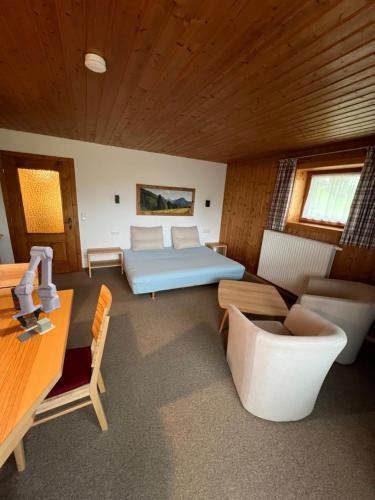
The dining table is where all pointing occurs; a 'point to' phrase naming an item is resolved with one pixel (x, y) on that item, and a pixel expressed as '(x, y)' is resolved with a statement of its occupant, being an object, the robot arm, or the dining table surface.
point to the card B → (44, 331)
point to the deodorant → (15, 300)
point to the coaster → (26, 335)
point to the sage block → (44, 324)
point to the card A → (27, 329)
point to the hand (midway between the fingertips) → (30, 323)
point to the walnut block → (30, 321)
